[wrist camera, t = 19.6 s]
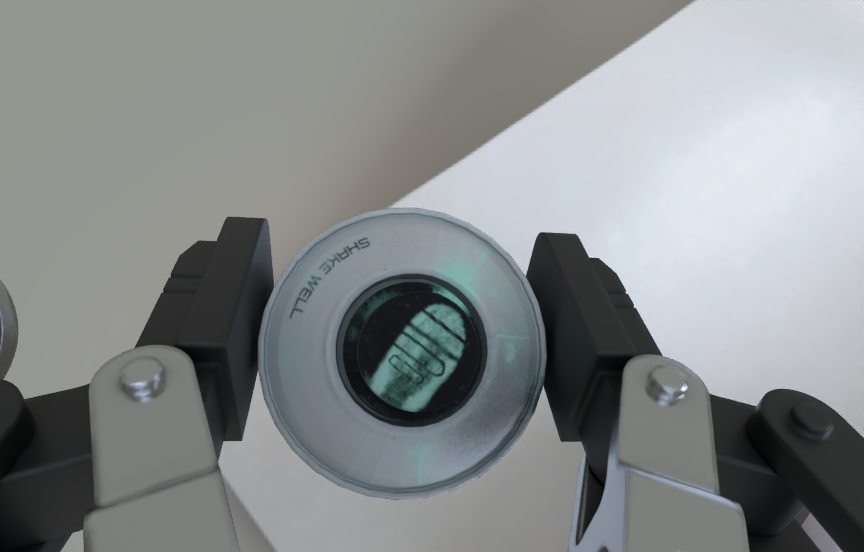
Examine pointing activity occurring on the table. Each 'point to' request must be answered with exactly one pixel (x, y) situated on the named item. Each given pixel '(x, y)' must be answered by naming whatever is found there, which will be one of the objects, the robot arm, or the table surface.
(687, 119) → the table surface
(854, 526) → the robot arm
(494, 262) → the spray can
